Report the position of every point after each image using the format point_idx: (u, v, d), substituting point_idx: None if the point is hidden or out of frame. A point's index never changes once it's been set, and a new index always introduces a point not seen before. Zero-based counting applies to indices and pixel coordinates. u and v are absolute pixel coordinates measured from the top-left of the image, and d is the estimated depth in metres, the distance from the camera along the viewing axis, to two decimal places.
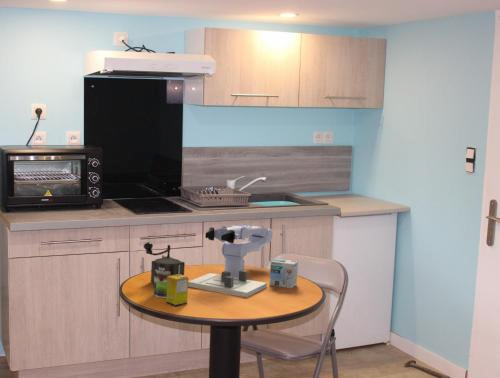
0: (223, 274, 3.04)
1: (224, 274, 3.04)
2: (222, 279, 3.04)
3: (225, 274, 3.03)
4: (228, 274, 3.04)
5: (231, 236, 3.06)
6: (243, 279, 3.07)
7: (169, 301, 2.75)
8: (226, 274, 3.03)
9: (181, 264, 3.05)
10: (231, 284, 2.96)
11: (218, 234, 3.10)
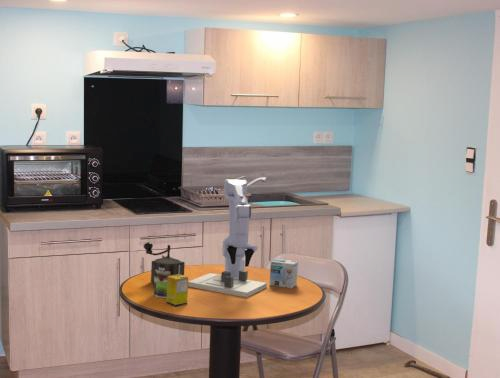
0: (223, 274, 3.04)
1: (224, 274, 3.04)
2: (222, 279, 3.04)
3: (225, 274, 3.03)
4: (228, 274, 3.04)
5: None
6: (243, 279, 3.07)
7: (169, 301, 2.75)
8: (226, 274, 3.03)
9: (181, 264, 3.05)
10: (231, 284, 2.96)
11: (237, 247, 3.01)
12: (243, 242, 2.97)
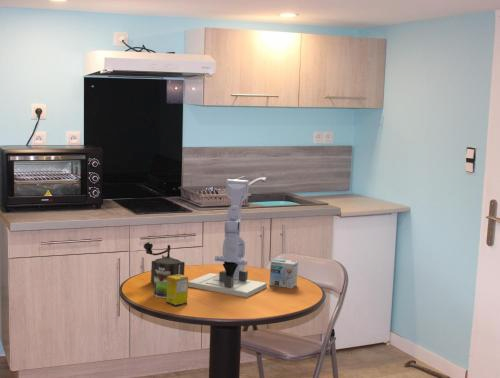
0: (221, 274, 3.04)
1: (222, 274, 3.04)
2: (220, 279, 3.05)
3: (223, 274, 3.04)
4: (226, 274, 3.04)
5: None
6: (243, 279, 3.07)
7: (169, 301, 2.75)
8: (224, 274, 3.04)
9: (181, 264, 3.05)
10: (231, 284, 2.96)
11: (226, 262, 3.04)
12: (233, 257, 3.00)
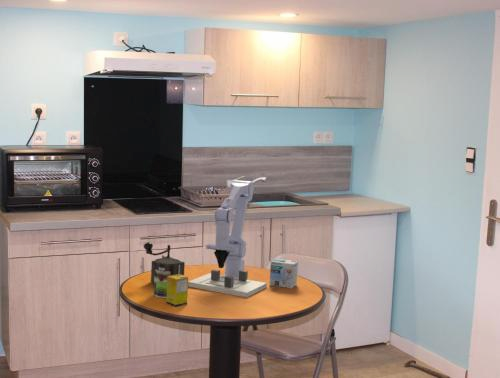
0: (213, 272, 3.06)
1: (214, 272, 3.06)
2: (212, 277, 3.07)
3: (215, 272, 3.06)
4: (218, 272, 3.06)
5: None
6: (243, 279, 3.07)
7: (169, 301, 2.75)
8: (216, 272, 3.05)
9: (181, 264, 3.05)
10: (231, 284, 2.96)
11: (218, 250, 3.05)
12: (224, 245, 3.02)
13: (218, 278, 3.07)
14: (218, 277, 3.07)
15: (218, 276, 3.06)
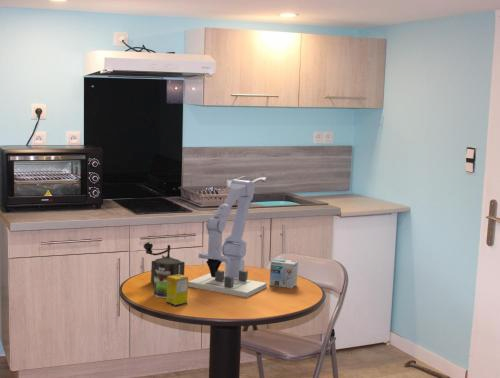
0: (217, 273, 3.05)
1: (218, 273, 3.05)
2: (216, 278, 3.06)
3: (219, 273, 3.05)
4: (222, 273, 3.05)
5: None
6: (243, 279, 3.07)
7: (169, 301, 2.75)
8: (220, 273, 3.05)
9: (181, 264, 3.05)
10: (231, 284, 2.96)
11: (210, 259, 3.07)
12: (216, 254, 3.04)
13: (222, 279, 3.06)
14: (222, 278, 3.06)
15: (222, 277, 3.06)
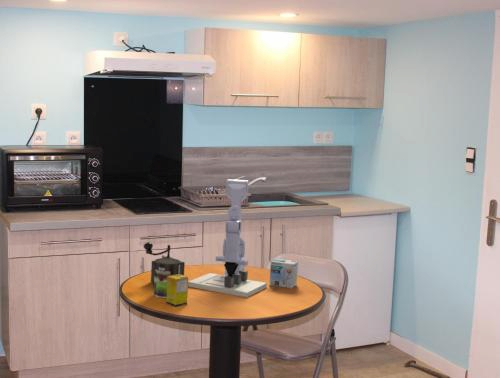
0: (234, 276, 3.02)
1: (235, 276, 3.01)
2: None
3: (236, 276, 3.01)
4: (239, 276, 3.01)
5: None
6: (243, 279, 3.07)
7: (169, 301, 2.75)
8: (237, 276, 3.01)
9: (181, 264, 3.05)
10: (231, 284, 2.96)
11: (227, 262, 3.04)
12: (234, 257, 3.00)
13: (239, 282, 3.02)
14: (239, 281, 3.02)
15: (239, 280, 3.02)
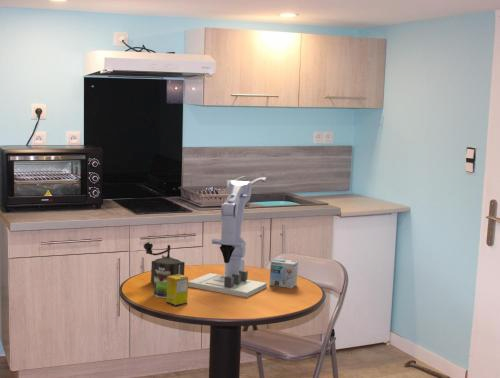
0: (234, 276, 3.02)
1: (235, 276, 3.01)
2: None
3: (236, 276, 3.01)
4: (239, 276, 3.01)
5: None
6: (243, 279, 3.07)
7: (169, 301, 2.75)
8: (237, 276, 3.01)
9: (181, 264, 3.05)
10: (231, 284, 2.96)
11: (223, 245, 3.05)
12: (229, 240, 3.01)
13: (239, 282, 3.02)
14: (239, 281, 3.02)
15: (239, 280, 3.02)
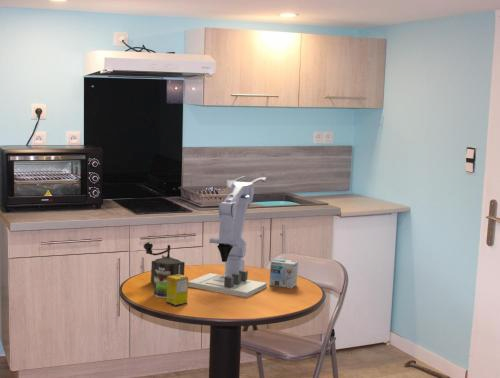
0: (234, 276, 3.02)
1: (235, 276, 3.01)
2: None
3: (236, 276, 3.01)
4: (239, 276, 3.01)
5: None
6: (243, 279, 3.07)
7: (169, 301, 2.75)
8: (237, 276, 3.01)
9: (181, 264, 3.05)
10: (231, 284, 2.96)
11: None
12: (227, 239, 3.03)
13: (239, 282, 3.02)
14: (239, 281, 3.02)
15: (239, 280, 3.02)
